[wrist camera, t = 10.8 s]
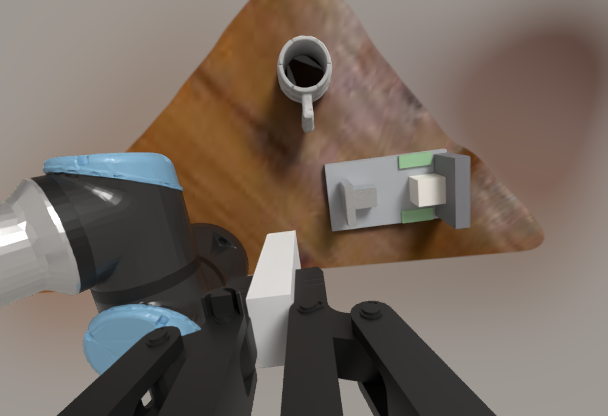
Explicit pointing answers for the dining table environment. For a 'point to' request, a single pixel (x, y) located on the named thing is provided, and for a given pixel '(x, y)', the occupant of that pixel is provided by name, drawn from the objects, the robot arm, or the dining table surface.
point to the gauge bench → (401, 188)
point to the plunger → (356, 200)
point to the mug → (300, 51)
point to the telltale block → (427, 189)
